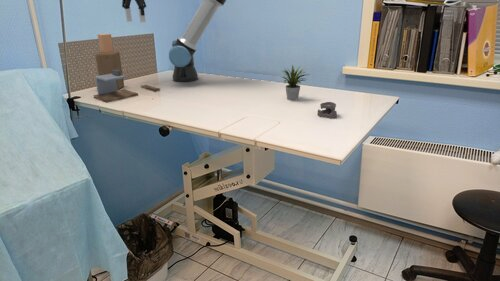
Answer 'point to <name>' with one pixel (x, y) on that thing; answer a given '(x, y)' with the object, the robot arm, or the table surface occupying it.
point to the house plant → (293, 83)
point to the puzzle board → (122, 94)
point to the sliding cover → (108, 82)
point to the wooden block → (109, 65)
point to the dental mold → (327, 110)
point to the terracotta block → (105, 43)
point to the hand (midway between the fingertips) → (136, 21)
